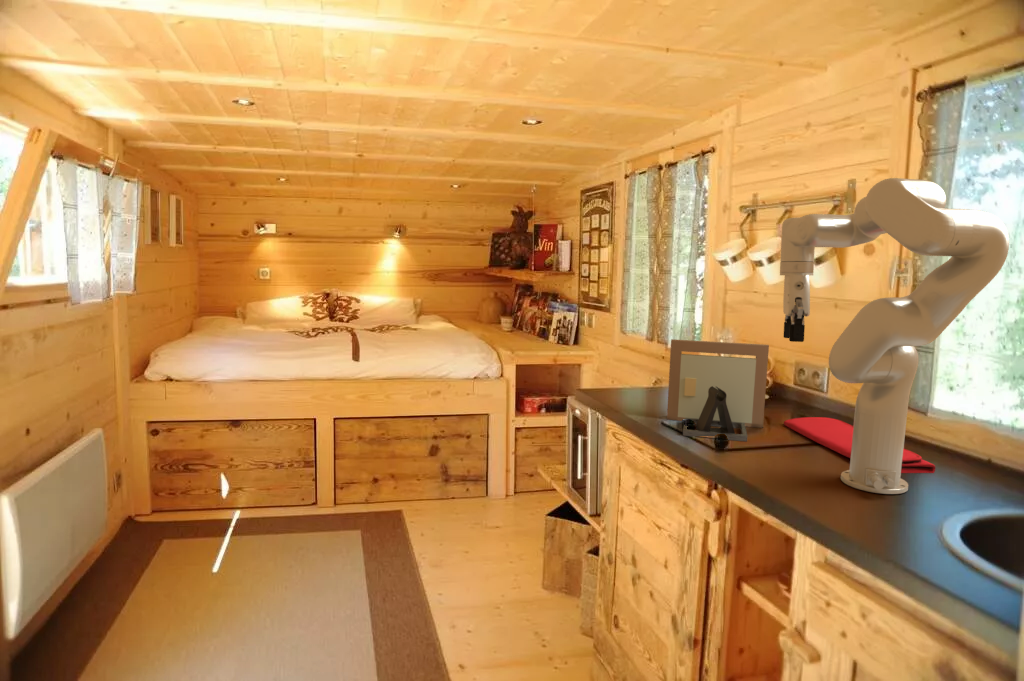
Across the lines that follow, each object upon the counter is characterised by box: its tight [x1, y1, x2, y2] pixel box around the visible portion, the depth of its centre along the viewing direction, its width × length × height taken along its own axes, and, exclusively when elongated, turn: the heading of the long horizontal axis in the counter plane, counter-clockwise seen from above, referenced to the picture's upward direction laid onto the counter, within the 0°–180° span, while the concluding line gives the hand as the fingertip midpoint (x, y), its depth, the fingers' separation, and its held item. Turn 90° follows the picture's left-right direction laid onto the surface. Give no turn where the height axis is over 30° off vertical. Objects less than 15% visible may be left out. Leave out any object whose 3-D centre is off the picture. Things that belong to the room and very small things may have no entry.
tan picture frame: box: [666, 338, 770, 429], centre depth 191 cm, size 4×26×23 cm, turn 74°
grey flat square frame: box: [682, 418, 748, 442], centre depth 182 cm, size 14×16×2 cm
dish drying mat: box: [783, 416, 936, 474], centre depth 171 cm, size 16×41×4 cm, turn 5°
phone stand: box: [695, 386, 736, 434], centre depth 181 cm, size 9×6×12 cm, turn 91°
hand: (793, 339), depth 165 cm, fingers open, 9 cm apart
